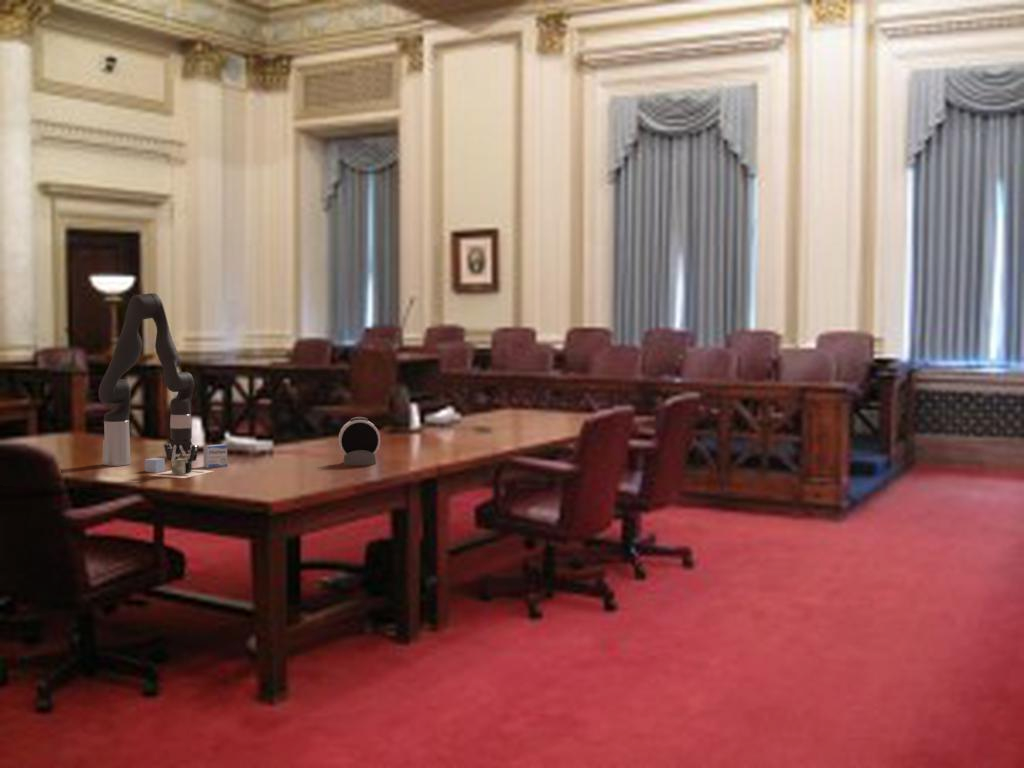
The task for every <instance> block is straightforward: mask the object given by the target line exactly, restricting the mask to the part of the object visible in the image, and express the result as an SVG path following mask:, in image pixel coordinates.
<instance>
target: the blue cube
mask: <svg viewBox="0 0 1024 768" xmlns="http://www.w3.org/2000/svg"><path fill="white" fill-rule="evenodd" d="M165 460H166V459H165V458H162V457H151V458H146V459H144V470H145V472H148V473H161V472H165V471H166V465H165V464H166V461H165Z"/></svg>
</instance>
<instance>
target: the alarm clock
mask: <svg viewBox="0 0 1024 768" xmlns="http://www.w3.org/2000/svg"><path fill="white" fill-rule="evenodd" d="M338 445H339V448H340V450H341V453H343V461H342V464H343V466H370V465H371V466H373V465H377V460H376V454H377V453H378V451H379V448H380V446H381V434H380V431H379V430H378V428H377V427H376V426H375V424H374V423H373V422H371V421H369V419H368V418H367V417H363V416H356V417H352V418H350V420H349V421H347V422H346V423H345V424H343V426H342V427H341V429H340V431H339V433H338Z"/></svg>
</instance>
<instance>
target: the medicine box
mask: <svg viewBox="0 0 1024 768" xmlns="http://www.w3.org/2000/svg"><path fill="white" fill-rule="evenodd" d="M202 449H203V467H204V468H206V469H211V468H212V469H213V468H223V467H225V468H227V467H228V445H227V444H224V443H223V444H210V445H209V444H208V445H203V448H202Z"/></svg>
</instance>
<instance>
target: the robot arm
mask: <svg viewBox="0 0 1024 768" xmlns="http://www.w3.org/2000/svg"><path fill="white" fill-rule="evenodd" d="M124 317H125V318H124V321H123V326H122V328H121V332H120V335H119V337H118V340H117V343H116V345H115V347H114V351H113V354H112V357H111V360H110V362H109V365H108V368H107V370H106V372H105V374H104V375H103V377H102V379H101V381H100V384H99V386H98V387H99V388H98V391H97V392H98V398H99V401H100V402H101V403H102V404H107V405H108V404H109V405H110V404H116V405H115V407H113V409H111V410H110V411H107V412H106V413H104V414H103V425H104V426H103V427H104V430H103V431H104V439H103V440H102V465H105V466H109V467H110V466H111V467H117V466H118V467H120V466H129V465H130V464H131V444H130V443H131V440H130V439H131V438H130V413H131V387H130V386H131V385H130V383H129V381H128V380H127V379H122V376H124V374H125V373H127V372H128V371H130V370H131V368H133V366H135V365H136V364H137V362H138V361H139V358H140V356H141V353H142V351H143V348H144V347H143V344H144V343H143V340H142V338H141V336H140V333H139V328H140V325H141V323H142V321H143V320H149V319H152V320H153V322H154V325H155V328H156V338H155V345H154V347H155V353H156V355H157V357H158V359H159V362H160V364H161V366H162V374H163V379H164V380H163V382H164V385H165V387H166V388H167V390H168V391H170V392H173V393H177V396H176V397H174V398H172V399H171V400H170V418H169V419H170V420H169V421H170V422H169V430H170V431H169V432H170V434H169V435H170V440H171V442H170V443H165V444H164V451H165V457H166V459H167V460H168V461H171V463H172V460H175V459H180V456H181V455H182V457H183V459H185V461H186V463H185V469H186V473H190V472H191V470H192V468H191V463H192V464H193V462H195V461H197V458H198V454H199V453H198V451H199V445H198V444H197V445H196V444H195V445H194V444H193V443H192V439H193V436H192V434H193V433H192V427H193V426H192V416H191V415H192V414H191V401H192V397H193V392H194V389H195V388H194V387H195V379H194V377H193V375H192V374H191V373H190V372H188V371H179V372H178V368H179V366H180V365H181V364H182V360H181V357H180V355H179V353H178V350H177V347H176V345H175V343H174V340H173V338H172V335H171V331H170V327H169V322H168V318H167V315H166V310H165V307H164V304H163V301H162V299H161V297H160V296H159V294H156V293H150V292H149V293H142V294H136V295H133V296H131V298H130V300H129V302H128V305H127V308H126V312H125V316H124Z"/></svg>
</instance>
